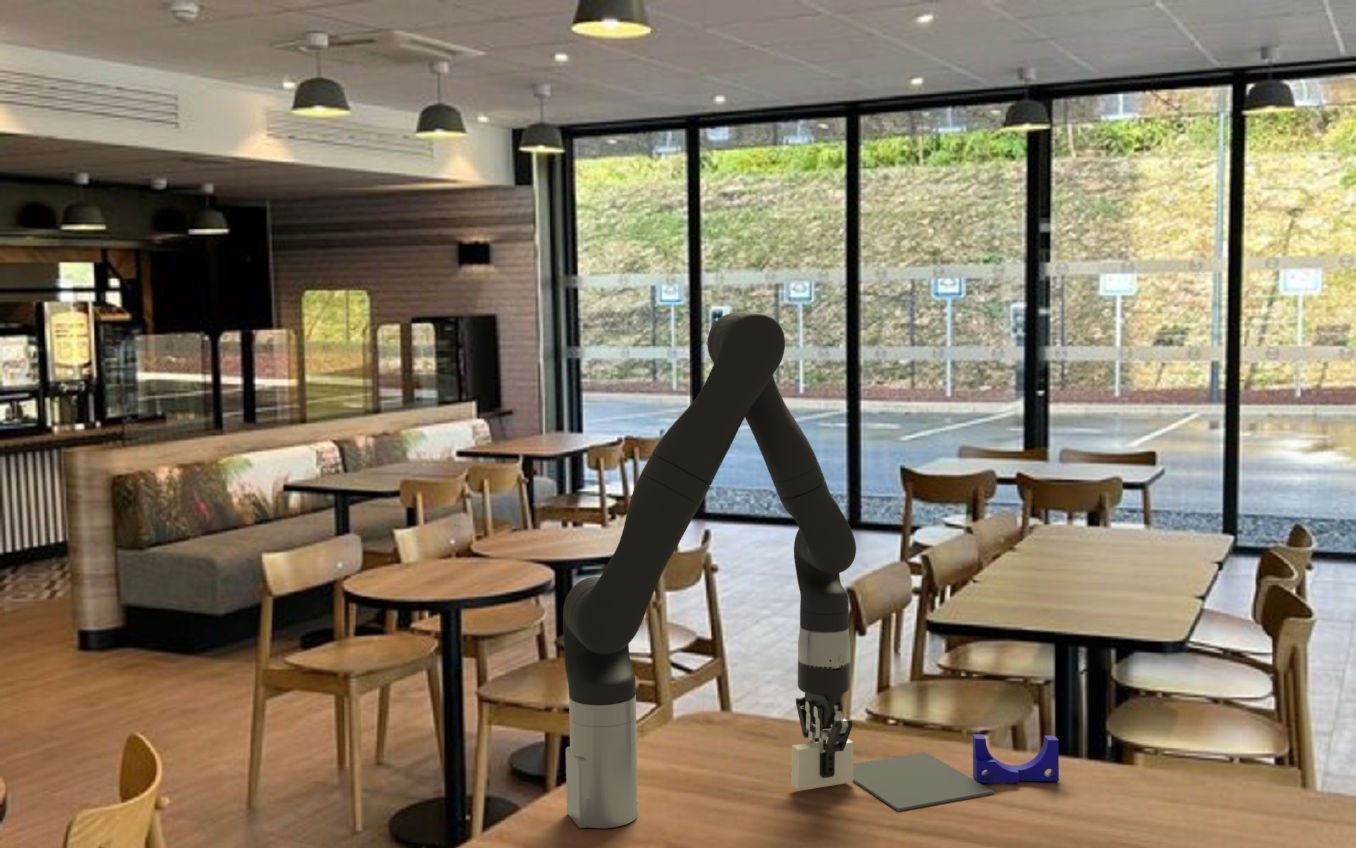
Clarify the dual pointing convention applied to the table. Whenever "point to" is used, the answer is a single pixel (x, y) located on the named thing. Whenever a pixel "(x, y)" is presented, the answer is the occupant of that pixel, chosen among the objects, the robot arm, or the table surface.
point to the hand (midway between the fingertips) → (822, 773)
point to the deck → (809, 766)
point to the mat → (915, 781)
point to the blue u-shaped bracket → (1014, 773)
